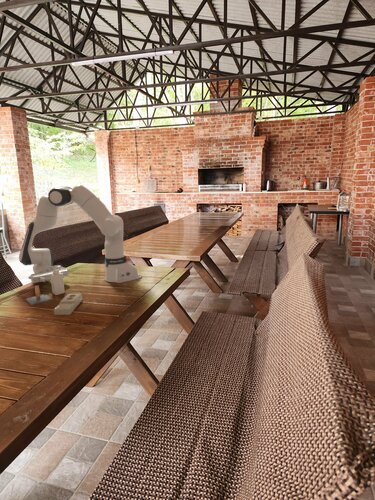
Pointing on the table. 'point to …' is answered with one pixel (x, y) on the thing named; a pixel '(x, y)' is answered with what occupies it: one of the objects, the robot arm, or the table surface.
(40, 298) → the peg stand
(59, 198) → the robot arm
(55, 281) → the tapered lotion bottle
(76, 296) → the electrical outlet
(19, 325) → the table surface
